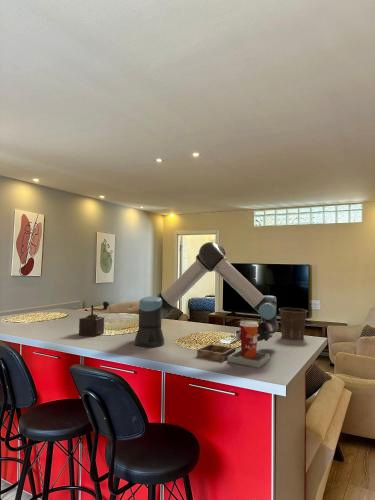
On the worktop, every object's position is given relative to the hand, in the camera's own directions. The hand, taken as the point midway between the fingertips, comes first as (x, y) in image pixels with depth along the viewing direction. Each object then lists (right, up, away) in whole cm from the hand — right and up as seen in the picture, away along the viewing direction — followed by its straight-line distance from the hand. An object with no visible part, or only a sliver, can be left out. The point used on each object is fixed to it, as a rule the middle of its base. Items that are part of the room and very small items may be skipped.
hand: (245, 338), depth 144 cm
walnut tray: (-11, -11, +12) cm, 19 cm away
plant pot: (+37, -13, +53) cm, 66 cm away
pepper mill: (-78, -11, +52) cm, 94 cm away
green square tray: (+2, -11, +4) cm, 12 cm away
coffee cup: (+2, -9, +4) cm, 10 cm away
